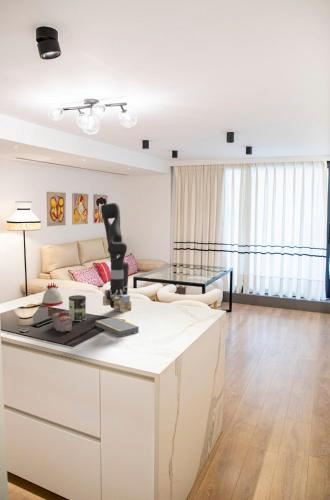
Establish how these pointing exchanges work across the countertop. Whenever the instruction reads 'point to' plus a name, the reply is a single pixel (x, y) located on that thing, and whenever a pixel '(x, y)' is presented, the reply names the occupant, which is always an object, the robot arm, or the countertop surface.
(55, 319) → the food item
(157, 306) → the countertop surface
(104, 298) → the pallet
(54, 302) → the kitchen timer
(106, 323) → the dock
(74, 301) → the coffee can
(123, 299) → the crate
